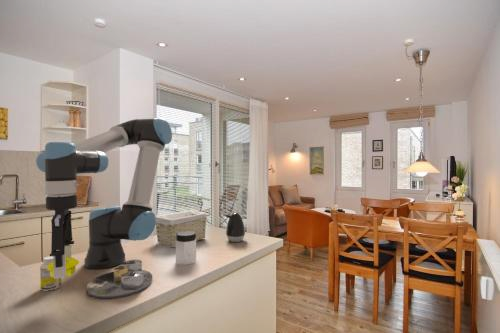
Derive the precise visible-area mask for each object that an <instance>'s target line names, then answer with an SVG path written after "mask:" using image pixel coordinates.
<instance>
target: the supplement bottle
mask: <svg viewBox="0 0 500 333" xmlns="http://www.w3.org/2000/svg"><path fill="white" fill-rule="evenodd" d="M52 261H53V256H50V255H48V256H45V257H44V258H43V259H42V264H41V265H40V267H39V268H40V269H39V270H40V276H39V277H40V290H41V291H42V290H43V292H49V291H48V290H51V291H54V290H57V289H58V288H61V285H62V278H57V279H54V277H51V276H50V271H49V270H47V269H46V267H47V266H48V265H49V264H50V263H51V262H52ZM53 289H54V290H53Z"/></svg>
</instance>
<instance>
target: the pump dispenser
mask: <svg viewBox="0 0 500 333" xmlns="http://www.w3.org/2000/svg"><path fill="white" fill-rule="evenodd" d="M225 217H226V218H228V221H227V224H226V229H225V230H226V231H225V234H226V237H227V238H226V239H228V241H230V243H231V242H232V243H239V242H241V241H243V239H245V235H246V229H245V224H244V221H243V218H242V216H241V214H240V213H238V212H233V213H232V214H231V215H229V214H226V215H225Z"/></svg>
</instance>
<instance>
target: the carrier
mask: <svg viewBox="0 0 500 333" xmlns="http://www.w3.org/2000/svg"><path fill="white" fill-rule="evenodd" d="M152 283H153V274H152V273H151V272H150V271H149V270H145V269H143V261H142V259H130V260H125V261H124V262H123V263H121V264H120V265H118V266H117V267H115V268H113V271H110V272H107V273H104V274H101V275H99V276H97V277H95V278H93V279H92V280H90V282H88V284H87V285H86V293H87V295H88V296H89V297H91V298H93V299H99V300H113V299H114V300H115V299H119V298H121V299H122V298H125V297H129V296H132V295H135V294H138V293H140V292H143V291H144V290H146V289H147V288H148V287H149V286H151V285H152Z"/></svg>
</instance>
